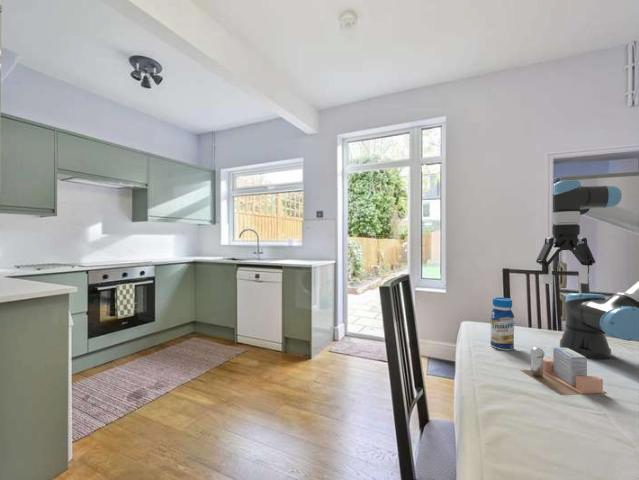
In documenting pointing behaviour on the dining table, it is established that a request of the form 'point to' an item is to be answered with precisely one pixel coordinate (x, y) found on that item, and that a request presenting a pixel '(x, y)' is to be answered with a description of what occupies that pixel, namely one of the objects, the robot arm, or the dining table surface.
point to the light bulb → (537, 362)
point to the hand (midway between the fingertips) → (565, 283)
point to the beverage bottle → (502, 324)
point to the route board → (553, 384)
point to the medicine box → (569, 365)
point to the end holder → (582, 382)
